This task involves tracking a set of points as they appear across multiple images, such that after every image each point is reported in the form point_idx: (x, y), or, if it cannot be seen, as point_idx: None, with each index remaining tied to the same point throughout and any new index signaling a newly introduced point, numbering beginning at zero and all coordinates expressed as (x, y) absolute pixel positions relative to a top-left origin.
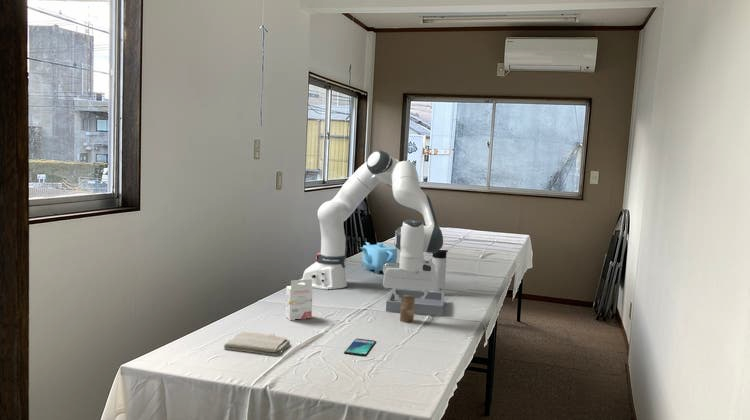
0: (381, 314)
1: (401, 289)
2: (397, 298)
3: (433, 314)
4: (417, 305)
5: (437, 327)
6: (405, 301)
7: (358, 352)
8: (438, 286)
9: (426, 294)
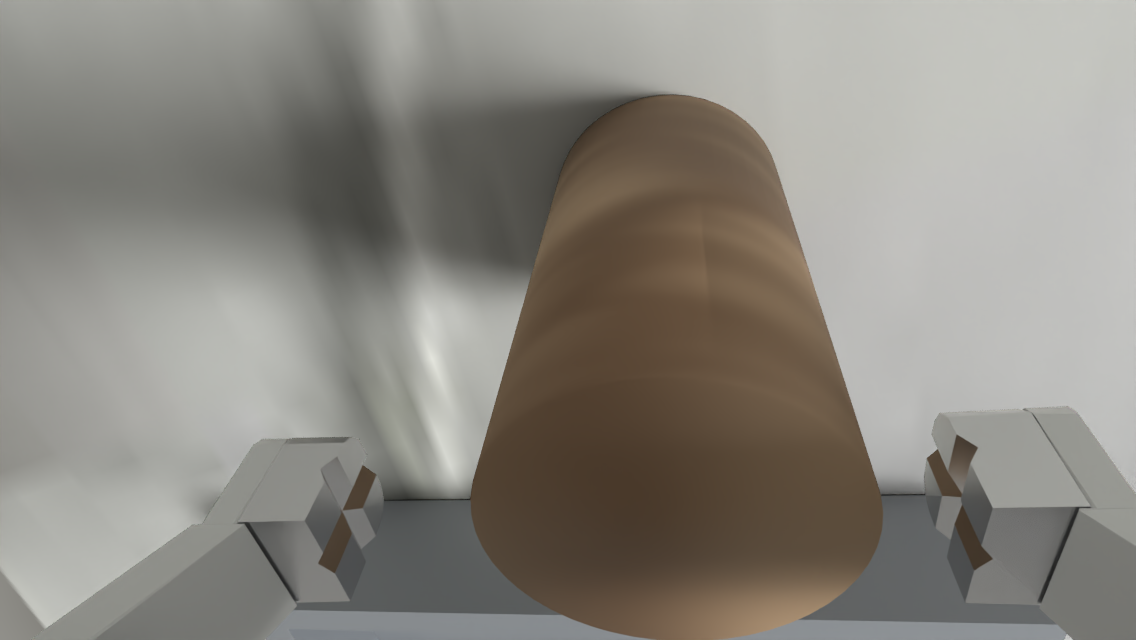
0: (1095, 361)
1: None
2: (996, 440)
3: (393, 510)
4: None
5: (113, 40)
6: (718, 317)
7: None
8: None
9: (74, 611)
